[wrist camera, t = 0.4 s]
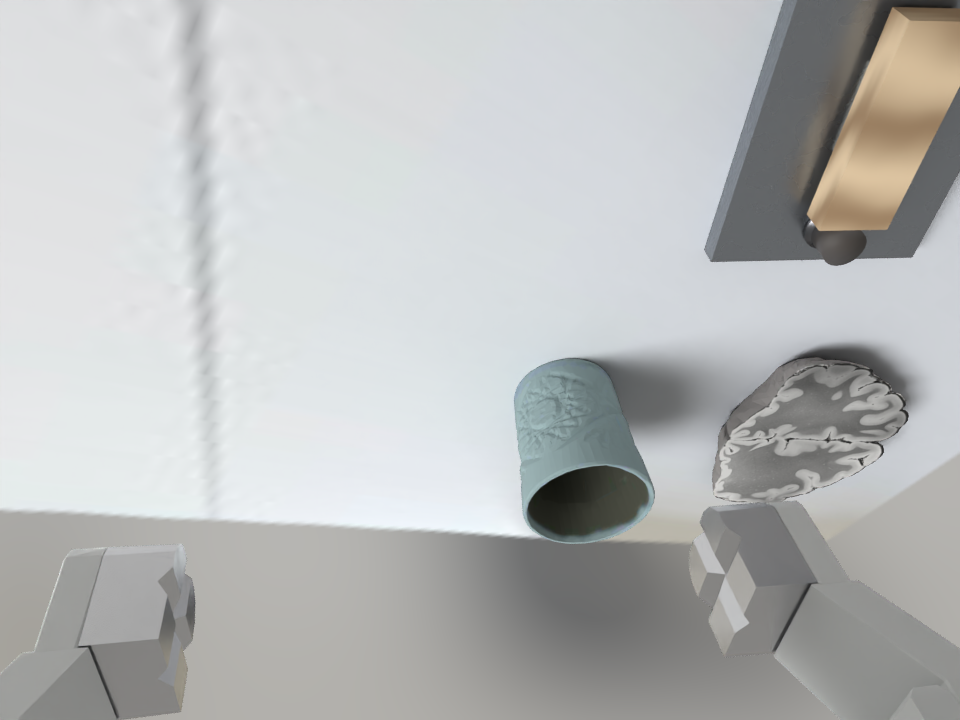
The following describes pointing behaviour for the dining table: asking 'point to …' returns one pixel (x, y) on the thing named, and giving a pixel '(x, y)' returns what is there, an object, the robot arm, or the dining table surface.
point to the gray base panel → (818, 137)
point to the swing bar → (887, 129)
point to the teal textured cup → (577, 455)
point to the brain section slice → (805, 431)
